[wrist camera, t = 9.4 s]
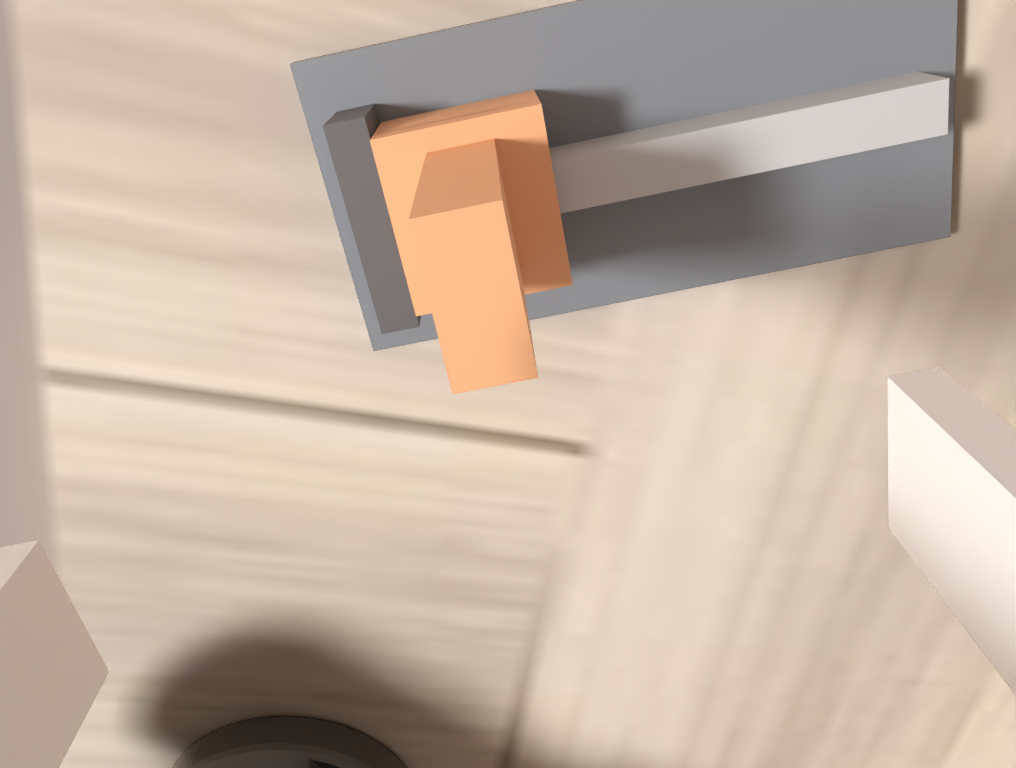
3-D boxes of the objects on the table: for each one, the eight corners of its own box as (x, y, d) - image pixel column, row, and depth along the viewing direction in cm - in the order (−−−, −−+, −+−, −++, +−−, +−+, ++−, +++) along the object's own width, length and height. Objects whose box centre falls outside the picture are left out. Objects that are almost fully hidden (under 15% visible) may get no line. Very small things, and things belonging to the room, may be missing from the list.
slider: (421, 281, 36) (396, 431, 24) (381, 121, 33) (329, 202, 21) (562, 253, 35) (607, 390, 24) (533, 89, 33) (567, 153, 21)
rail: (376, 342, 38) (364, 385, 34) (294, 61, 33) (269, 73, 29) (938, 230, 37) (996, 261, 33) (946, -80, 32) (1015, -89, 28)
